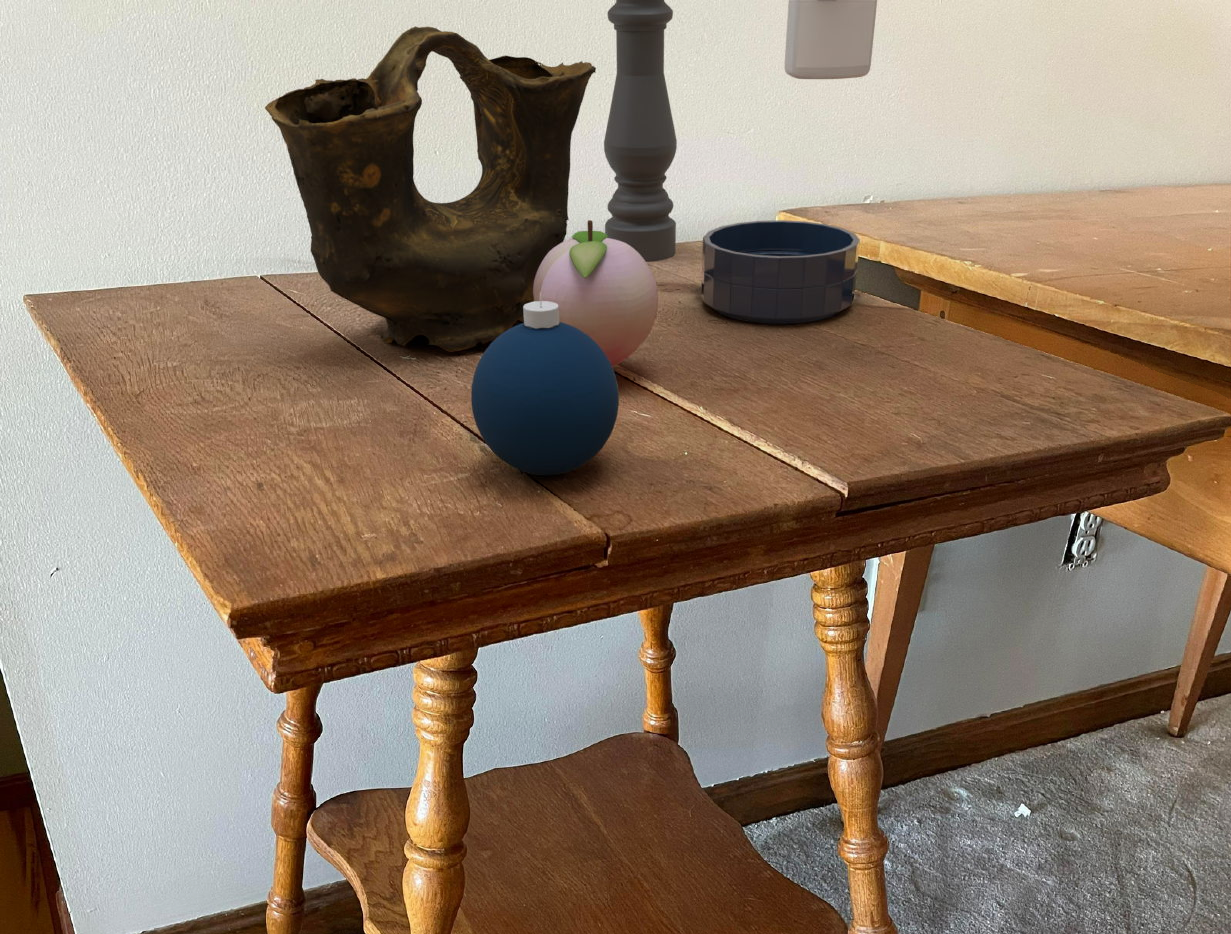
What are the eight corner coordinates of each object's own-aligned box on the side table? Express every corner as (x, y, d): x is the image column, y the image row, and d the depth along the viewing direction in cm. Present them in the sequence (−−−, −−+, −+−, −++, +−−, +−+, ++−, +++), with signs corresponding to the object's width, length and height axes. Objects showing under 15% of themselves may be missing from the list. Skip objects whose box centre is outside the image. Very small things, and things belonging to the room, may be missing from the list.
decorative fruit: (669, 394, 85) (671, 233, 79) (547, 402, 84) (540, 240, 78) (643, 351, 92) (643, 202, 86) (532, 358, 91) (524, 207, 85)
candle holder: (595, 269, 110) (587, -81, 95) (619, 252, 115) (616, -85, 100) (662, 275, 109) (665, -82, 93) (684, 257, 113) (690, -85, 98)
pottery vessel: (545, 287, 106) (532, 7, 94) (630, 315, 99) (629, 17, 87) (279, 352, 93) (225, 36, 81) (357, 388, 86) (311, 51, 74)
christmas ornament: (625, 495, 71) (623, 311, 65) (476, 501, 71) (461, 317, 65) (613, 441, 78) (611, 269, 72) (477, 446, 78) (463, 275, 71)
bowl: (861, 289, 104) (868, 224, 101) (841, 332, 95) (847, 261, 92) (719, 281, 107) (721, 217, 104) (686, 321, 98) (687, 252, 95)
